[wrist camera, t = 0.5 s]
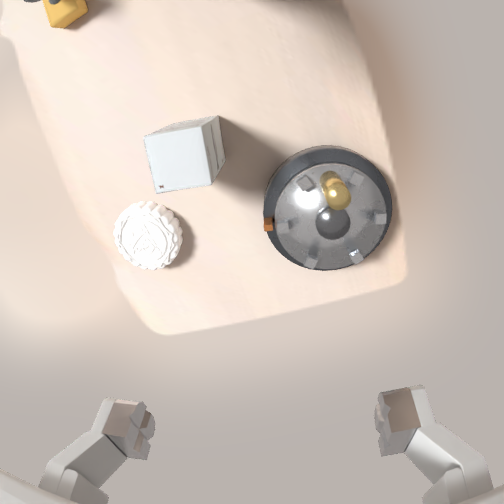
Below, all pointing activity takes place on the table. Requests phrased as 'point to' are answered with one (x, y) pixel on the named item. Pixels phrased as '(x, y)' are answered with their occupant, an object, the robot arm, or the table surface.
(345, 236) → the studded round base
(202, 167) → the supplement box
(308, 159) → the grey round platform
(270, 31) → the table surface
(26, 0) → the rubber stamp
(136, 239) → the mooncake
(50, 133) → the table surface
